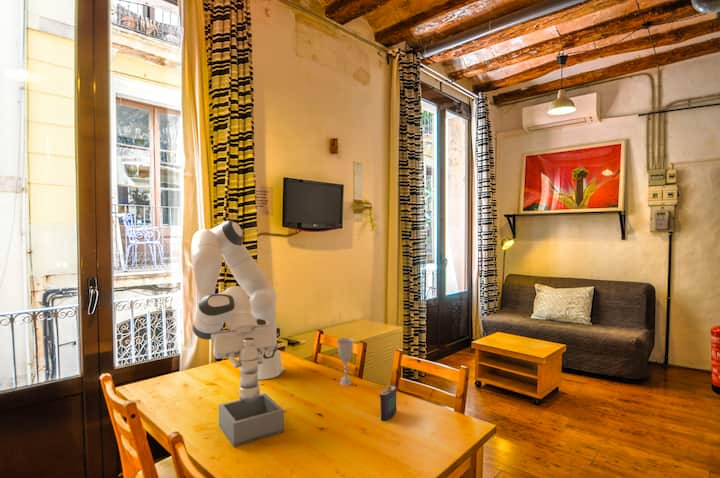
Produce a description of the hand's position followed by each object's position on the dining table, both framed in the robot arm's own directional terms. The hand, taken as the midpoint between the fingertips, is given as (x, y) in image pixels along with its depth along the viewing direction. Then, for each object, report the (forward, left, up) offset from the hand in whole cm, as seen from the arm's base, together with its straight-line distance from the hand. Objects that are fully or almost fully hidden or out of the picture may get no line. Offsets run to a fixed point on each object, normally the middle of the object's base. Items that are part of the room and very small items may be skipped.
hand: (249, 364), depth 129 cm
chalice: (-15, +46, -21) cm, 53 cm away
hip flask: (+19, +42, -21) cm, 51 cm away
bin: (0, 0, -21) cm, 21 cm away
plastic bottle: (-1, 0, -12) cm, 12 cm away
